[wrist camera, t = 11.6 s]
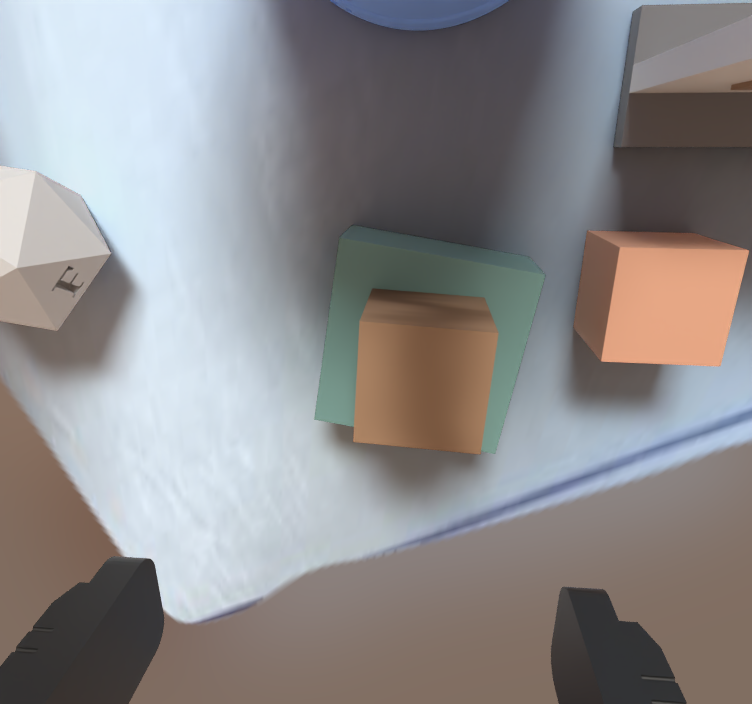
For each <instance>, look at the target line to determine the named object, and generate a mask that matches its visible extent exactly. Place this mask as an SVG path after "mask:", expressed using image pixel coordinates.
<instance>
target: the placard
mask: <svg viewBox="0 0 752 704" xmlns="http://www.w3.org/2000/svg"><path fill="white" fill-rule="evenodd" d="M613 147H752V3H727V4H681V5H642V6H641V7H639V8H638V9H636V10H635V11H633V15H632V22H631V29H630V36H629V43H628V50H627V57H626V64H625V70H624V77H623V84H622V91H621V98H620V105H619V112H618V119H617V126H616V133H615V140H614V146H613Z"/></svg>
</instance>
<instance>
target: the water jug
mask: <svg viewBox="0 0 752 704" xmlns="http://www.w3.org/2000/svg"><path fill="white" fill-rule="evenodd" d="M330 1H331V2H333V3H334V4H335V5H337V6H338V7H340V8H342V9H343V10H345V11H347V12H348V13H350V14H352V15H354V16H356V17H358V18H361V19H363V20H365V21H368V22H371V23H374V24H377V25H380V26H384V27H389V28H394V29H401V30H415V31H420V30H435V29H442V28H447V27H452V26H456V25H459V24H463V23H466V22H468V21H471V20H474V19H476V18H479V17H481V16H483V15H485V14H487V13H489V12H491V11H493V10H495V9H496V8H498V7H500V6H501V5H503V4H505V3H506V2H508V1H509V0H330Z"/></svg>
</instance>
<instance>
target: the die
mask: <svg viewBox="0 0 752 704" xmlns="http://www.w3.org/2000/svg"><path fill="white" fill-rule="evenodd" d="M110 255H111V252H110V250H109V248H108V246H107V244H106V242H105V240H104V238H103V237H102V235H101V233H100V231H99V229H98V227H97V225H96V223H95V221H94V219H93V218H92V216H91V214H90V212H89V210H88V208H87V206H86V204H85V202H84V200H83V198H82V197H81V195H80V194H78V193H76V192H74V191H72V190H70V189H68V188H67V187H65V186H63V185H61V184H59V183H57V182H55V181H53V180H52V179H50V178H48V177H46V176H44V175H42V174H40V173H39V172H37V171H32V170H25V169H19V168H12V167H5V166H0V321H2V322H8V323H14V324H20V325H26V326H31V327H37V328H43V329H49V330H55V331H58V330H59V328H60V327H61V325H62V324H63V323H64V321H65V320H66V318H67V317H68V315H69V314H70V312H71V311H72V310H73V308H74V307H75V305H76V304H77V302H78V301H79V299H80V298H81V297H82V295H83V294H84V292H85V291H86V289H87V288H88V287H89V285H90V284H91V282H92V281H93V279H94V278H95V276H96V275H97V274H98V272H99V271H100V269H101V268H102V266H103V265H104V263H105V262H106V261H107V259H108V258H109V256H110Z"/></svg>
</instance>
